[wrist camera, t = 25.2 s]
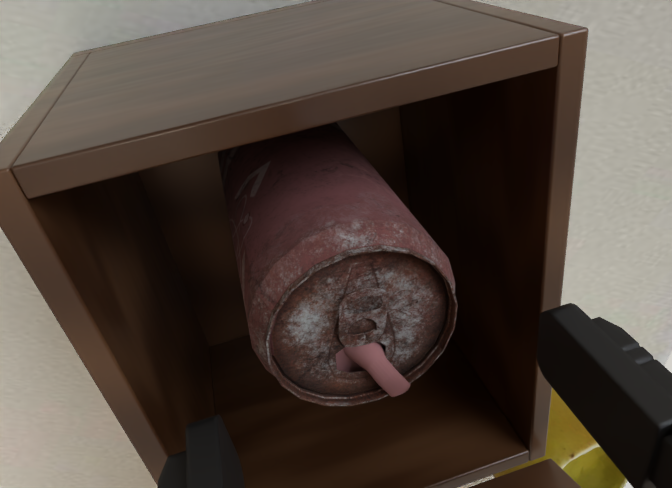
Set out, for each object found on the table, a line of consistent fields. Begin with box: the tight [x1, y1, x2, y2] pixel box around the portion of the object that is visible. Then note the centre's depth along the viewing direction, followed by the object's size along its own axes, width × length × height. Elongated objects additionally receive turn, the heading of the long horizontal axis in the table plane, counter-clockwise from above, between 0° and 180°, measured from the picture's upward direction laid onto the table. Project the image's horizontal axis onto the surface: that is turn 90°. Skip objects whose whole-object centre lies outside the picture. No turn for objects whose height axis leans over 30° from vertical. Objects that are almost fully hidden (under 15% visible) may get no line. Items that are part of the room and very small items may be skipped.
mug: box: [493, 388, 628, 488], centre depth 40 cm, size 12×10×10 cm
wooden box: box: [0, 0, 588, 488], centre depth 22 cm, size 18×15×13 cm
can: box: [218, 122, 458, 406], centre depth 20 cm, size 6×6×14 cm
